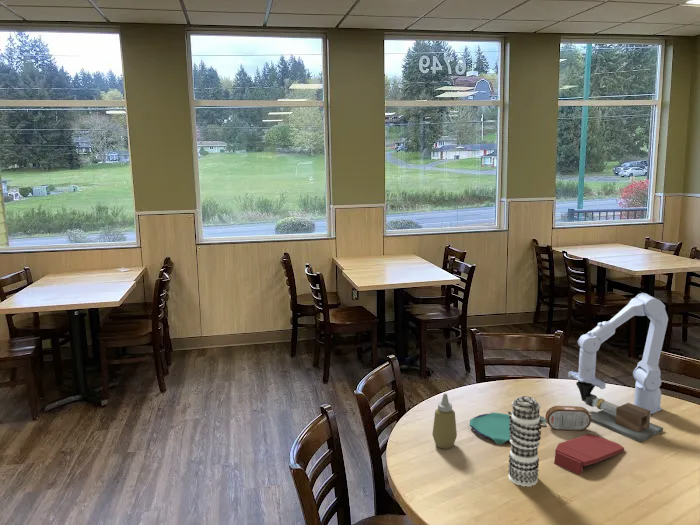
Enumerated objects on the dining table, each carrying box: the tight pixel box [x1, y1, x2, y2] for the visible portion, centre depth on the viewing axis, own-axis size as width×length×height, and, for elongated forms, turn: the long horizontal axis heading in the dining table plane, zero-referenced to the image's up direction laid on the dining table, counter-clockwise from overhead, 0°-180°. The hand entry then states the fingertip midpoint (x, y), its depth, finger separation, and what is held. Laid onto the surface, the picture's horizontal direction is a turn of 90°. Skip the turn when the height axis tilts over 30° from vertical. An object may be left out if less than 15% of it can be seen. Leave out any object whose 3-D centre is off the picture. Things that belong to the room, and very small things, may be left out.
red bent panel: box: [553, 433, 625, 475], centre depth 176 cm, size 12×5×25 cm
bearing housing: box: [590, 402, 664, 443], centre depth 195 cm, size 14×20×7 cm
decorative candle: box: [507, 395, 543, 487], centre depth 161 cm, size 9×9×25 cm
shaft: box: [584, 393, 620, 414], centre depth 199 cm, size 4×18×4 cm, turn 32°
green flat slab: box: [468, 411, 549, 445], centre depth 195 cm, size 20×30×2 cm, turn 119°
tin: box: [544, 405, 592, 432], centre depth 192 cm, size 15×3×8 cm, turn 84°
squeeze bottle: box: [432, 393, 458, 450], centre depth 182 cm, size 8×8×18 cm
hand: (584, 400), depth 208 cm, fingers closed
